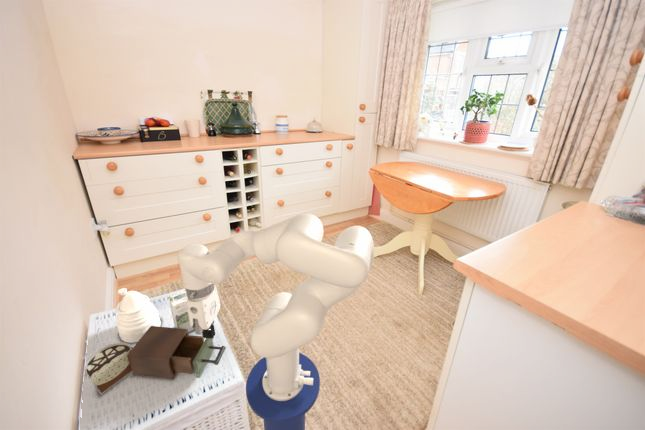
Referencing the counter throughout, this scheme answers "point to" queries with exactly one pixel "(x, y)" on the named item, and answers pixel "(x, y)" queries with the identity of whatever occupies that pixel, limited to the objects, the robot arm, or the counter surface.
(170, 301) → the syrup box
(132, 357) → the cabinet
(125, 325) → the honey pot
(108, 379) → the mint chocolate cake slice
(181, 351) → the drawer
